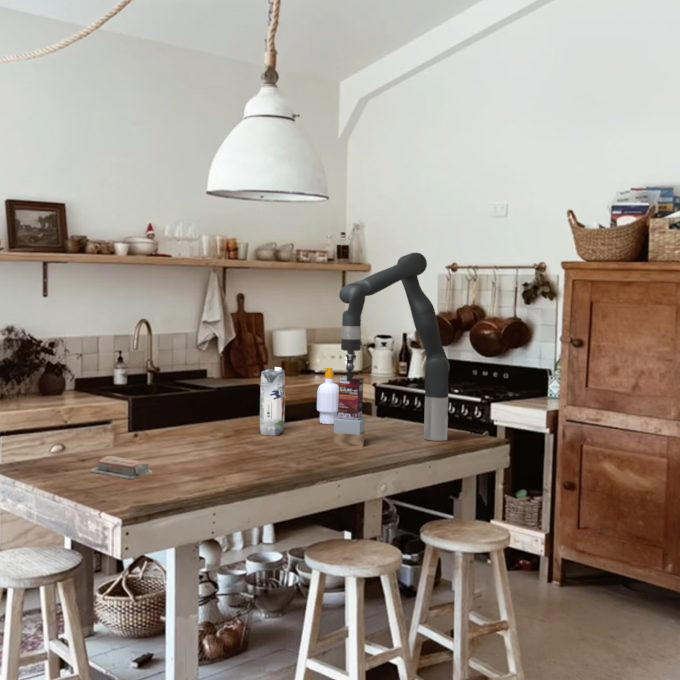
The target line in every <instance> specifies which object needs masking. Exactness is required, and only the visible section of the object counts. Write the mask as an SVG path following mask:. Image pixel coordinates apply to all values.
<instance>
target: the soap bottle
mask: <svg viewBox="0 0 680 680" xmlns="http://www.w3.org/2000/svg"><path fill="white" fill-rule="evenodd" d="M322 370H326V371H325V372H324V376H325V377H324V382H323V383H321V384H320V385H318V388H317V392H316V410H317V411H318V412H319V423H320V424H321V423H322V424H321V425H334V420H335V419H336V418H338V397H339V384H337V383H334V371H333V368H332V367H323V368H322Z"/></svg>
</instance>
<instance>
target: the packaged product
mask: <svg viewBox="0 0 680 680" xmlns="http://www.w3.org/2000/svg"><path fill="white" fill-rule="evenodd" d="M96 465H97V467H94V468H92V469H91V468H90V469H89V472H90V473H93V474H100V475H104V476H110V477H115V478H121V479H126V480H135V479H139V478H142V477H146V476H151V475H153V470H152V469H151V470H150V469H149V463H148V462H146V461H141V460H136V459H131V458H124V457H120V456H114V455H113V456H112V455H106V456H104V457H102V458H101V459H99V460H98V461H96Z"/></svg>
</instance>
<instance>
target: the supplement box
mask: <svg viewBox="0 0 680 680" xmlns="http://www.w3.org/2000/svg"><path fill="white" fill-rule="evenodd" d="M364 381H365V380H364V378H363V377H355V376H354V377H353V381H352V382H349V381H347V376H340V377H339V379H338V386H339V397H338V412H337V418H342V419H352V420H359V419H362V417H363V397H364Z"/></svg>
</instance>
